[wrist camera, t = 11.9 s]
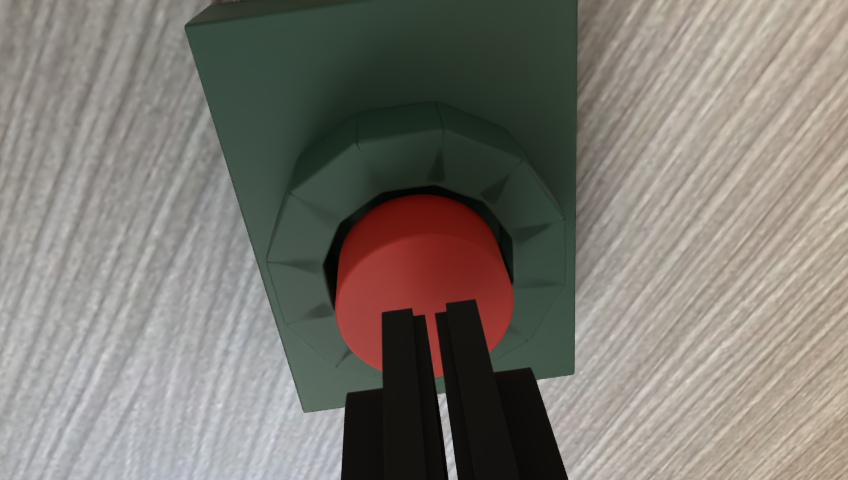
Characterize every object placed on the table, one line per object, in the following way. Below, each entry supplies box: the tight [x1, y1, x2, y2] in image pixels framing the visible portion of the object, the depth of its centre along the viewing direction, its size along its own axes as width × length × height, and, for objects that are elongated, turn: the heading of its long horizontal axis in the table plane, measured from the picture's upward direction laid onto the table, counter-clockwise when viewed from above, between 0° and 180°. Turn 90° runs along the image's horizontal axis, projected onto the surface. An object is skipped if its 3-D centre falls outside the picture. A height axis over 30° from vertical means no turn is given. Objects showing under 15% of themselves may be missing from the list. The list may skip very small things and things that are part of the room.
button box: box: [185, 0, 578, 413], centre depth 15 cm, size 11×8×4 cm
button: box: [335, 194, 514, 377], centre depth 13 cm, size 4×4×2 cm
